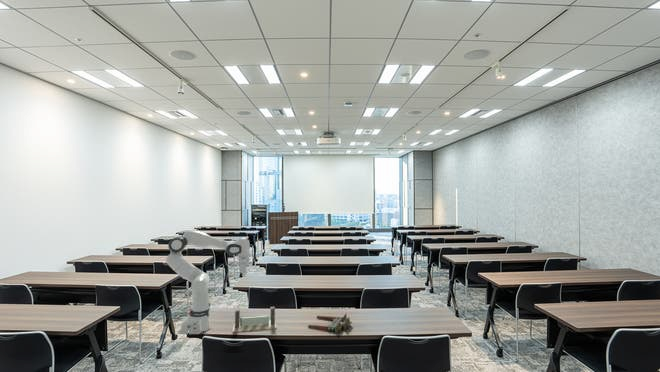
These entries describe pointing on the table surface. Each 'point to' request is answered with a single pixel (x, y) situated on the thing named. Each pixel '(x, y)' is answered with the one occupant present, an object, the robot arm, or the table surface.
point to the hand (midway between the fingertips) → (243, 275)
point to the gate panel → (254, 320)
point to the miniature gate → (333, 323)
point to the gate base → (254, 327)
